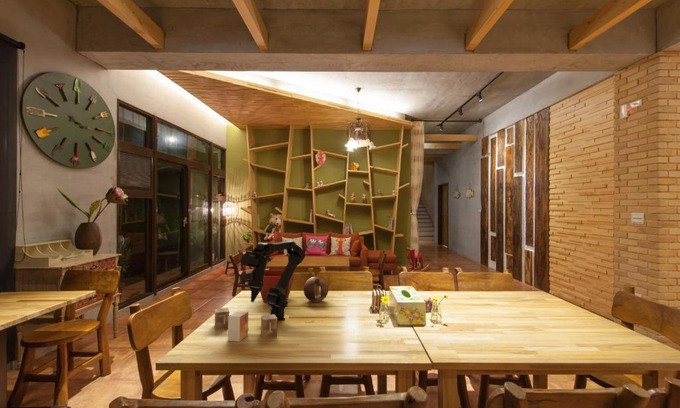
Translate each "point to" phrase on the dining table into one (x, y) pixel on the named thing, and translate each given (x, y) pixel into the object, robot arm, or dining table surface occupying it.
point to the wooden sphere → (315, 289)
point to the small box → (238, 326)
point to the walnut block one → (269, 326)
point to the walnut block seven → (221, 318)
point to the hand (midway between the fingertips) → (252, 302)
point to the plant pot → (274, 283)
